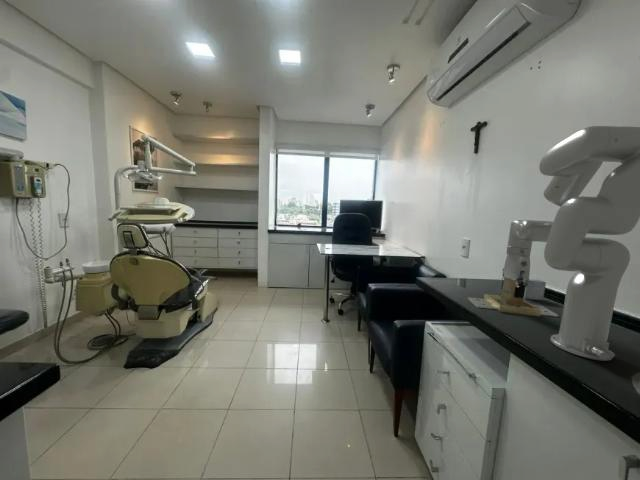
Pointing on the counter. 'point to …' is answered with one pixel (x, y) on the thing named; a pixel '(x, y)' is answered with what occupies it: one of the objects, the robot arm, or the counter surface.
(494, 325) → the counter surface
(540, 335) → the counter surface
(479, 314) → the counter surface
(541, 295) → the medicine box
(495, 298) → the wooden flat frame
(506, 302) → the skincare box
